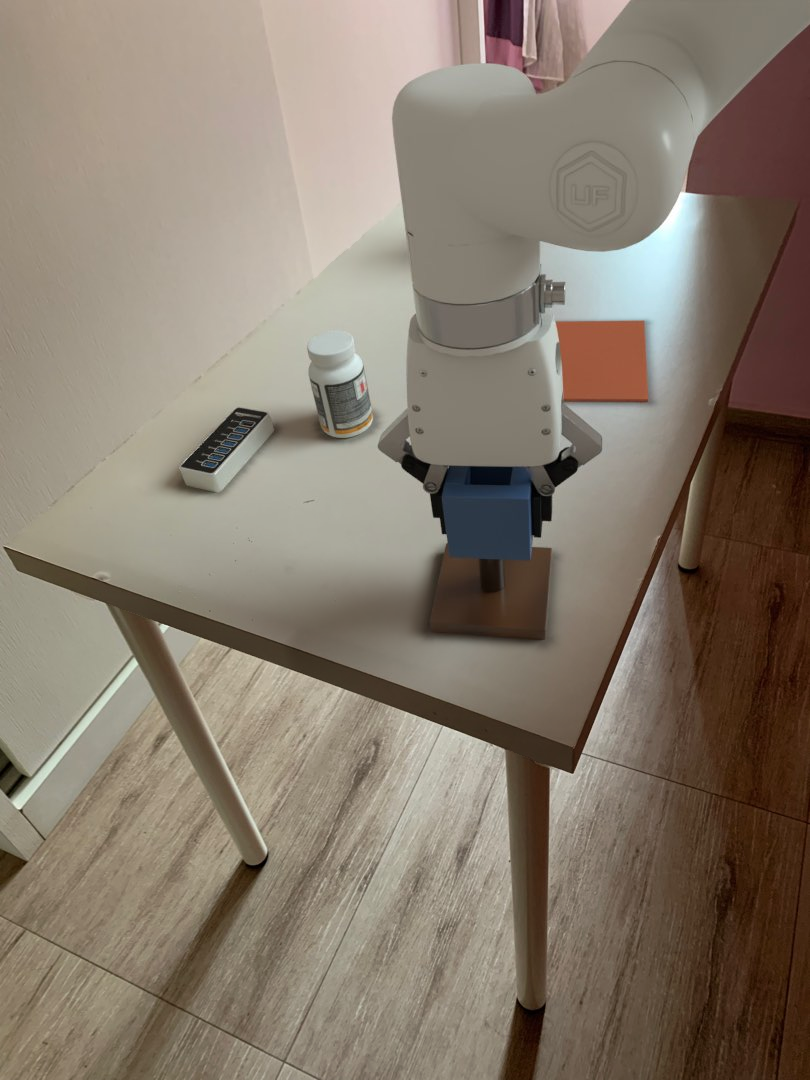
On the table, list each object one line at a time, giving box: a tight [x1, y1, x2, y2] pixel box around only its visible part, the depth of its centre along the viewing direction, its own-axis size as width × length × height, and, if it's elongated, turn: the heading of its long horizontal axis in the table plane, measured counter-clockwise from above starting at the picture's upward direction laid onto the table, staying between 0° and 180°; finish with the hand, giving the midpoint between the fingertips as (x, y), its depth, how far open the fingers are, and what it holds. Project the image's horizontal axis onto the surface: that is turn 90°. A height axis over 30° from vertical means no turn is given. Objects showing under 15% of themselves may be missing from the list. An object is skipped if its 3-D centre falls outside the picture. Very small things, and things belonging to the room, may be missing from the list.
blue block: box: [442, 465, 534, 561], centre depth 59 cm, size 6×6×6 cm
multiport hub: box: [178, 406, 275, 493], centre depth 84 cm, size 4×11×2 cm, turn 156°
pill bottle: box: [306, 330, 374, 439], centre depth 83 cm, size 6×6×10 cm
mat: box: [555, 320, 649, 403], centre depth 90 cm, size 16×16×1 cm
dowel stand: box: [429, 542, 553, 640], centre depth 63 cm, size 9×9×9 cm
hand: (492, 521), depth 61 cm, fingers closed on blue block, 6 cm apart
